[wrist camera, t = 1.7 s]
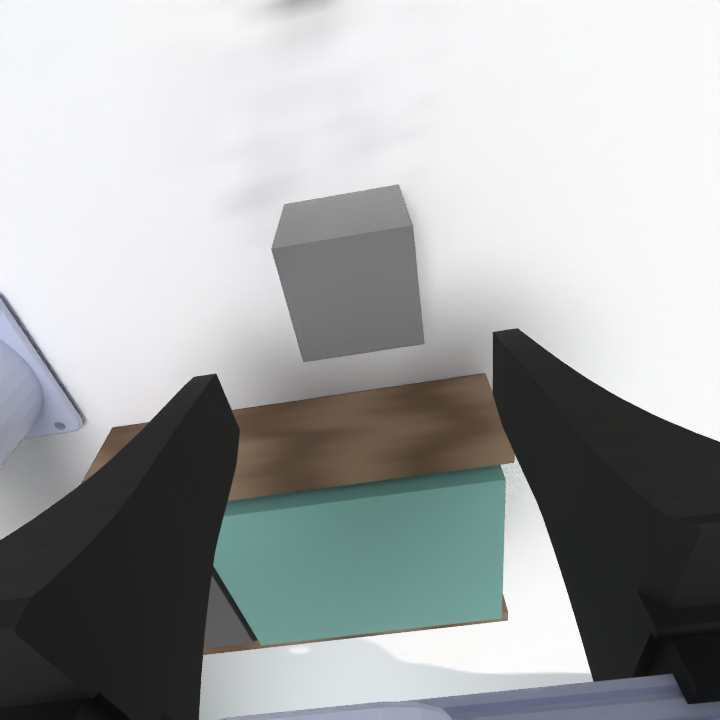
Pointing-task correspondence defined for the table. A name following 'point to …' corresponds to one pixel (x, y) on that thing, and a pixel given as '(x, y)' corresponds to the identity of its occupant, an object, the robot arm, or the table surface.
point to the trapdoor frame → (357, 446)
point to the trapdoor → (359, 559)
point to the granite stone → (350, 273)
